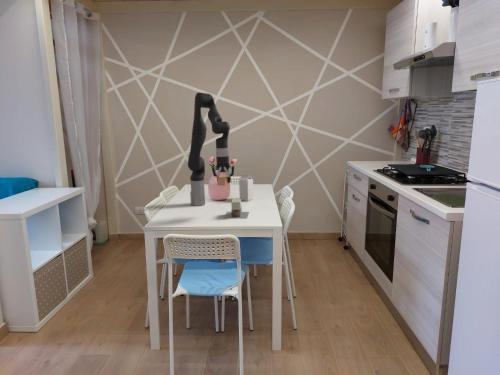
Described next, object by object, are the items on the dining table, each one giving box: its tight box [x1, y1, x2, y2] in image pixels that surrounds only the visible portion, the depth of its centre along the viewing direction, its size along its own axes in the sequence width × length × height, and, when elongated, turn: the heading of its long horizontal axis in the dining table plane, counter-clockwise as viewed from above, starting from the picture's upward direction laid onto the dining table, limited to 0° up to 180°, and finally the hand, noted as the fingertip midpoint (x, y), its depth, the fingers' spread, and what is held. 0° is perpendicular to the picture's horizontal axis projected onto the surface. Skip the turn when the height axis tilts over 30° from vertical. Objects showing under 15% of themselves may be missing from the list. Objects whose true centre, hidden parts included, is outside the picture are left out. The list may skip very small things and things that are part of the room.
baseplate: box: [223, 211, 250, 220], centre depth 220 cm, size 14×14×2 cm
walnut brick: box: [230, 207, 243, 217], centre depth 219 cm, size 5×8×4 cm, turn 174°
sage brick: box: [230, 198, 242, 210], centre depth 218 cm, size 5×8×4 cm, turn 176°
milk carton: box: [238, 173, 254, 202], centre depth 261 cm, size 7×7×19 cm
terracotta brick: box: [216, 175, 231, 187], centre depth 221 cm, size 5×8×4 cm, turn 160°
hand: (224, 182), depth 222 cm, fingers closed on terracotta brick, 5 cm apart
